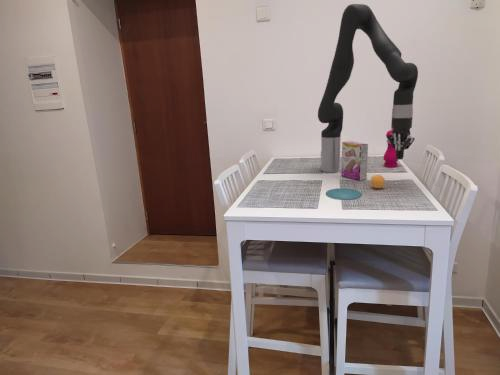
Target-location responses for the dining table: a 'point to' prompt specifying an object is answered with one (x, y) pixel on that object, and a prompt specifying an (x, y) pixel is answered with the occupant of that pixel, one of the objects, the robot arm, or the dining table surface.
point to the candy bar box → (354, 160)
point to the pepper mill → (390, 154)
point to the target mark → (343, 193)
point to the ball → (377, 181)
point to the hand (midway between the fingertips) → (399, 159)
